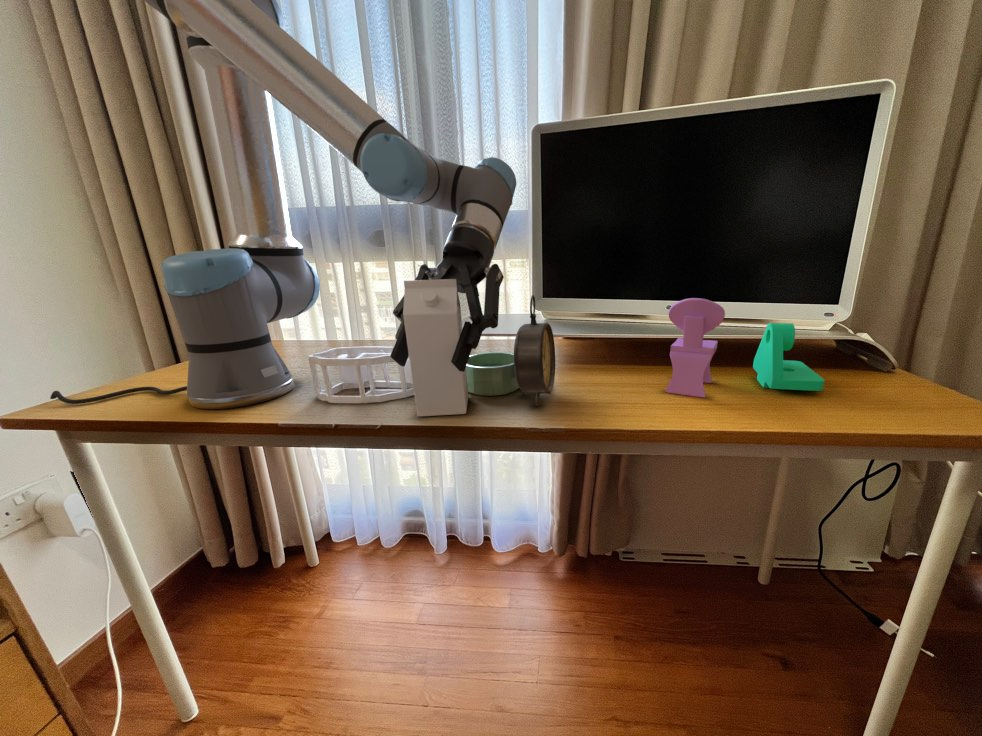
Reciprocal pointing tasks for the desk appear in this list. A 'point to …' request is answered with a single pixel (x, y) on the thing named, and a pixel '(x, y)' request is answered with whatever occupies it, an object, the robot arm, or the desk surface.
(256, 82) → the robot arm
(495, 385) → the bowl
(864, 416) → the desk surface
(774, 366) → the camera mount
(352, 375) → the white wireframe cage
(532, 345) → the alarm clock
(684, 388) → the toy chair
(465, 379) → the milk carton
